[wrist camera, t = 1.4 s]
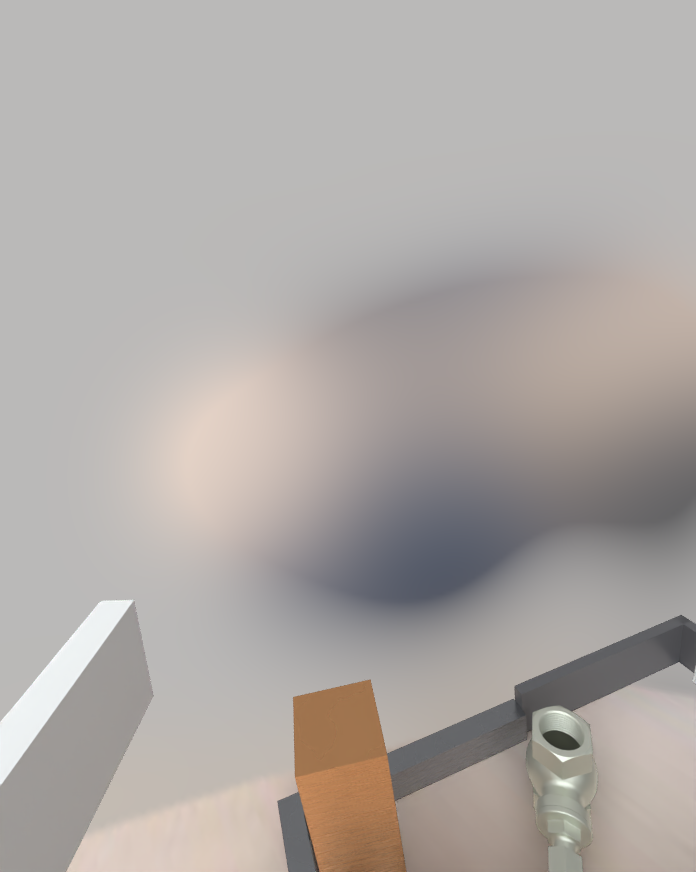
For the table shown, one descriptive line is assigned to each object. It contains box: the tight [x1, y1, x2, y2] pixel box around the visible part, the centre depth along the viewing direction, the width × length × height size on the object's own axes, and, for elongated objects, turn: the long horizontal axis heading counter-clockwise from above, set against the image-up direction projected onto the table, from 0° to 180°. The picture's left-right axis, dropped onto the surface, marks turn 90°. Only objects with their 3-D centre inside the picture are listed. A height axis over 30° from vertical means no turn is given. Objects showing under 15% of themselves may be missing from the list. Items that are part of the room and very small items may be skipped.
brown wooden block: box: [293, 680, 406, 872], centre depth 21 cm, size 13×4×18 cm, turn 18°
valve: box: [526, 706, 598, 872], centre depth 26 cm, size 7×7×12 cm
